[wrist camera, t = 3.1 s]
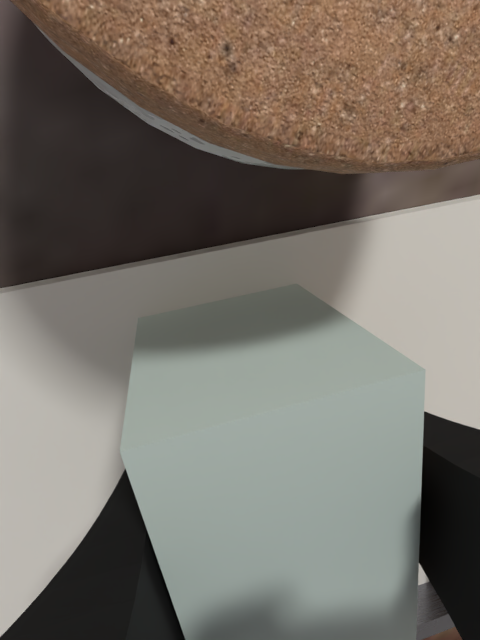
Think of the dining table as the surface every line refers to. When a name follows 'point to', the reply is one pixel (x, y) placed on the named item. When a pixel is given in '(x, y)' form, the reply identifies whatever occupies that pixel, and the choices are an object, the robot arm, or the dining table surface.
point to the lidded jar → (287, 76)
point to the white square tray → (190, 290)
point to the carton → (278, 469)
